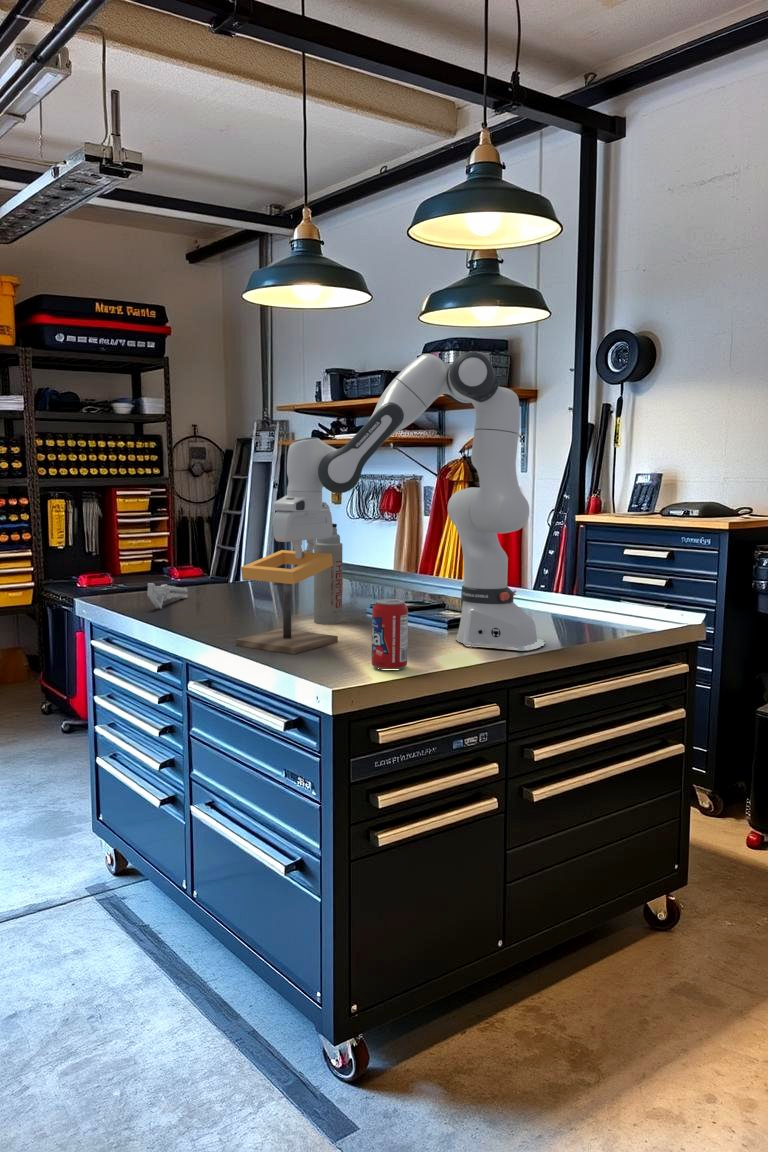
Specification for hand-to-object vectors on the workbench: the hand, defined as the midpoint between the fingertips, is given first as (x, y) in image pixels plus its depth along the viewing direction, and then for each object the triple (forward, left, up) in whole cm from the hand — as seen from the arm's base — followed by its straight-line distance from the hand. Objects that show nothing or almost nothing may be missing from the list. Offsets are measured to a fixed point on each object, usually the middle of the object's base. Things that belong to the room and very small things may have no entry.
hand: (304, 557), depth 224 cm
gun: (+69, -20, -21) cm, 75 cm away
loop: (0, +6, -3) cm, 7 cm away
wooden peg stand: (0, +7, -21) cm, 22 cm away
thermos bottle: (+10, -24, -21) cm, 34 cm away
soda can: (-35, +15, -21) cm, 44 cm away
